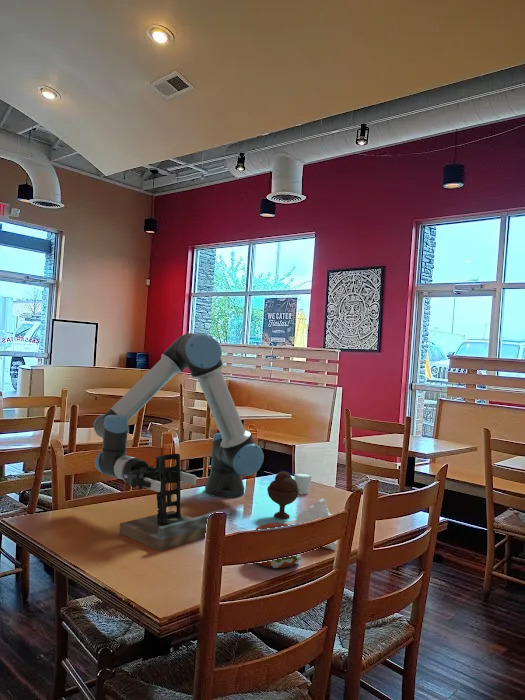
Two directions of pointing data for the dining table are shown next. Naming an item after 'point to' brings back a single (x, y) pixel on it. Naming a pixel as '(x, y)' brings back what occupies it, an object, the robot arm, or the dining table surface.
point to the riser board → (165, 531)
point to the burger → (284, 561)
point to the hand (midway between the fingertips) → (177, 483)
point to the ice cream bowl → (283, 492)
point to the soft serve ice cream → (314, 517)
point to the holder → (161, 495)
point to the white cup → (303, 482)
